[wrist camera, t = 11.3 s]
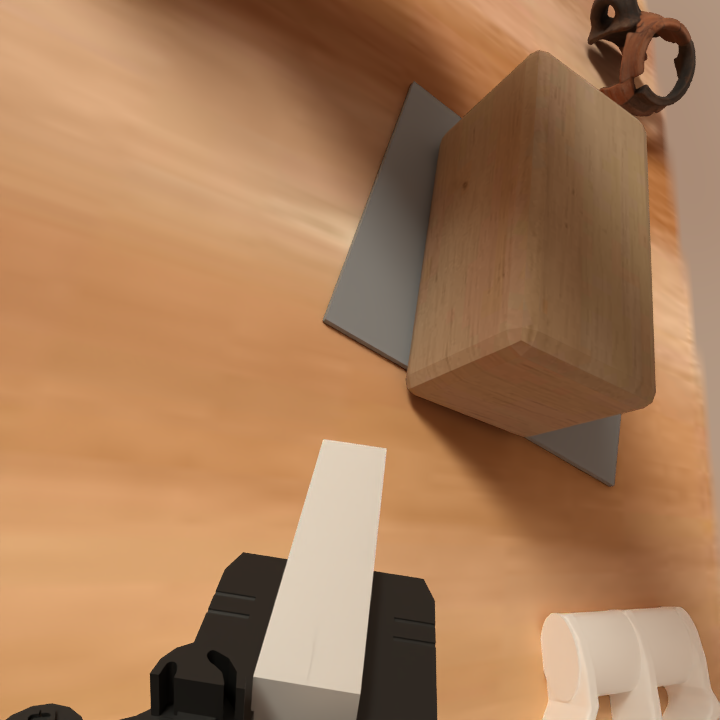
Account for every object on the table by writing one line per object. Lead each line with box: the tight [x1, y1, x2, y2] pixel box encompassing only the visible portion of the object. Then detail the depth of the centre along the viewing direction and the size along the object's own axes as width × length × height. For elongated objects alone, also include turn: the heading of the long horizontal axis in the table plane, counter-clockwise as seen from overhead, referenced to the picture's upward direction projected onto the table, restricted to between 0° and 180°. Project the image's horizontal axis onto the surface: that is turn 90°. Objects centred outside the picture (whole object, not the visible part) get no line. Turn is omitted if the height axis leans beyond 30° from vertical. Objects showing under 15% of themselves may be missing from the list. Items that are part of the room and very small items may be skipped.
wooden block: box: [406, 50, 656, 437], centre depth 38 cm, size 10×10×20 cm
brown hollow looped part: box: [588, 0, 695, 116], centre depth 58 cm, size 12×9×8 cm
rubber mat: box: [323, 81, 621, 486], centre depth 44 cm, size 21×24×1 cm
